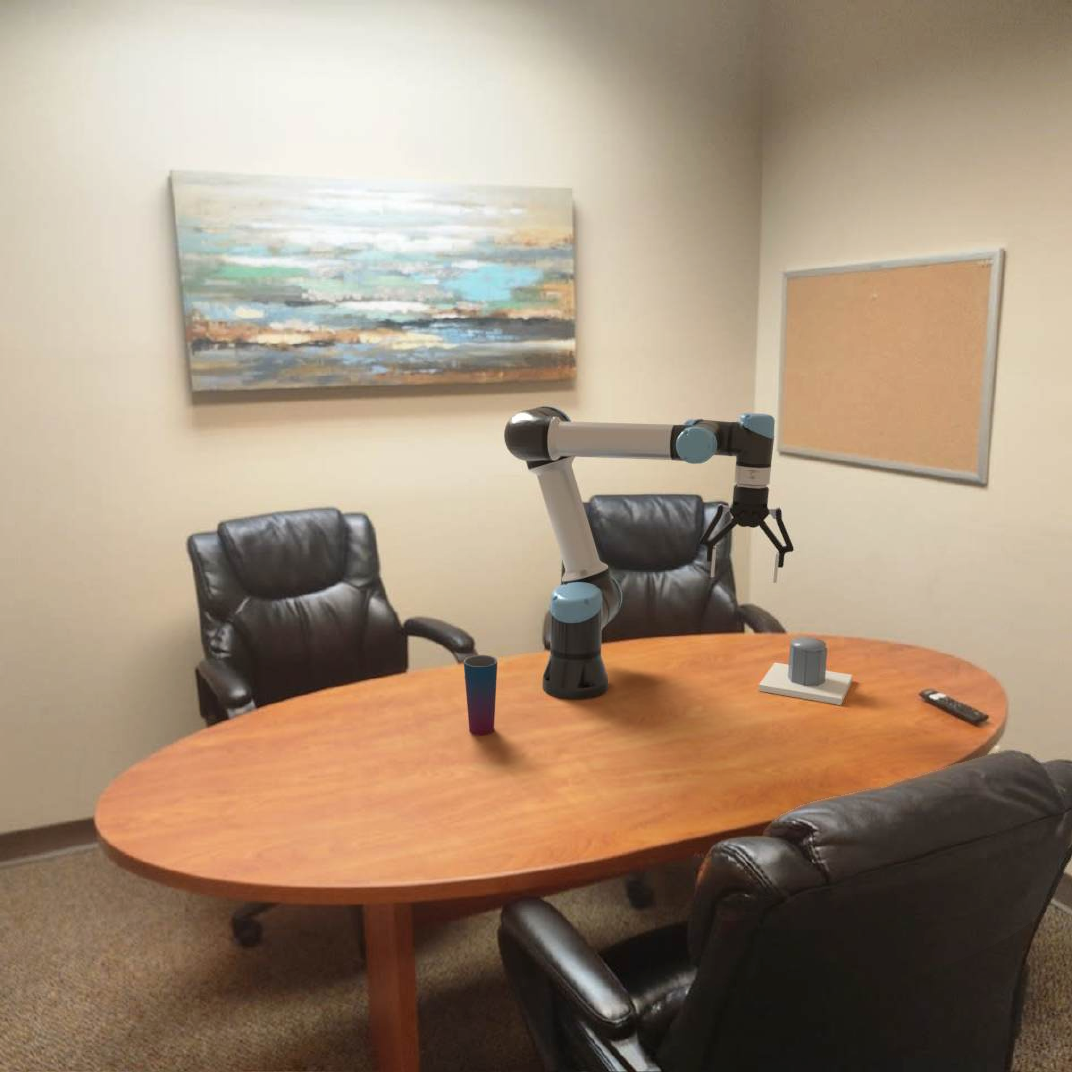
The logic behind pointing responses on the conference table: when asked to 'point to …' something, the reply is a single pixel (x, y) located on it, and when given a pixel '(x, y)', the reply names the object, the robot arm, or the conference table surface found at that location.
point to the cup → (481, 692)
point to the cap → (807, 661)
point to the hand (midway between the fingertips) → (743, 578)
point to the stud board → (826, 692)
